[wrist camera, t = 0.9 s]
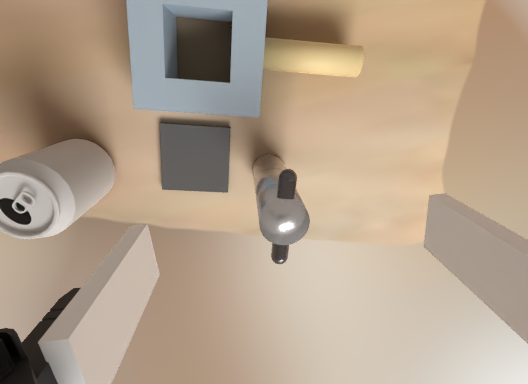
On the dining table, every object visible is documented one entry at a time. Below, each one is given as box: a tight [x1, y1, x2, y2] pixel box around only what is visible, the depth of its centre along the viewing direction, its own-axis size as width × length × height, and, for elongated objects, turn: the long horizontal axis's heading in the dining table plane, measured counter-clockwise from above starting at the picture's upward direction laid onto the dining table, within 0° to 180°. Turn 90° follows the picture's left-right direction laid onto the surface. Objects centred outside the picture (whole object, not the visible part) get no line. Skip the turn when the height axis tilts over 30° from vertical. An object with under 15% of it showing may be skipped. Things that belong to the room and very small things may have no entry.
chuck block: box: [126, 0, 364, 118], centre depth 31 cm, size 22×12×6 cm, turn 85°
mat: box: [160, 123, 230, 192], centre depth 37 cm, size 8×8×1 cm
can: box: [0, 139, 116, 239], centre depth 31 cm, size 8×8×12 cm
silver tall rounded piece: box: [253, 155, 310, 264], centre depth 31 cm, size 4×8×15 cm, turn 175°
